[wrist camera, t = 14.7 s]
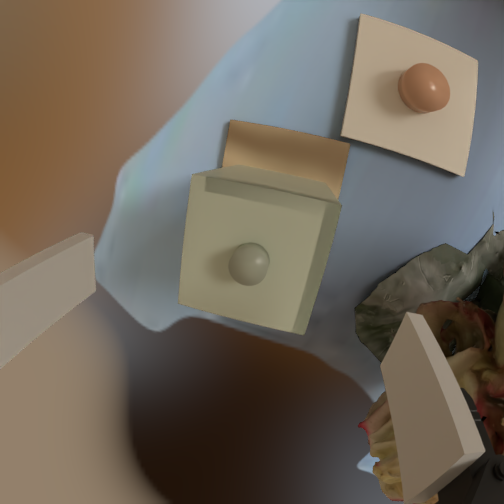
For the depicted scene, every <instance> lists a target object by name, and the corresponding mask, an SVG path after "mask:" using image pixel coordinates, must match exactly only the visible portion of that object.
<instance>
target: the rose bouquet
mask: <svg viewBox="0 0 504 504" xmlns="http://www.w3.org/2000/svg"><path fill="white" fill-rule="evenodd" d="M493 218H494V213H493ZM493 227H494V224H493V225H492V227H491V228H490V229H489V231H488V232H487V234H486V235H485V236H484V238H483V239H482V240H481V241H480V242H479V243H478V244H477V245H476V247H475V248H474V249H473V250H472V251H471V252H470V253H469V254H468V255H467V254H465V253H464V252H462V251H460V250H458V249H456V248H454V247H452V246H450V245H448V244H446V243H445V244H443V245H440V246H439V247H436V248H433V249H432V250H431V251H429V252H423V254H420V256H416V257H415V259H414V258H413V259H412V260H411V262H408V263H407V264H406V266H403V267H402V268H400V269H399V271H398V272H396V274H394V273H393V274H392V275H391V276H390V277H388V278H387V279H385V280H384V281H382V282H380V283H379V284H378V285H377V286H378V287H377V288H376V289H375V290H374V291H372V293H371V295H370V296H369V297H367V299H365V301H363V302H361V304H359V305H358V306H357V307H355V311H356V312H355V319H356V334H357V335H358V337H359V339H360V341H361V342H362V343H363V344H364V345H366V346H367V347H368V349H369V350H370V351H371V352H372V353H373V354H374V355H375V356H376V357H377V358H378V360H379V361H380V362H381V363H382V361H383V359H384V357H385V355H386V353H387V352H388V350H389V348H390V346H391V344H392V342H393V340H394V338H395V335H396V333H397V331H398V329H399V327H400V325H401V323H402V321H403V318H404V316H405V314H406V312H410V313H415V314H420V315H423V317H424V319H425V320H426V322H427V324H428V326H429V328H430V329H431V331H432V333H433V335H434V337H435V339H436V340H437V342H438V344H439V346H440V348H441V350H442V352H443V354H444V356H445V358H446V360H447V362H448V364H449V366H450V368H451V370H452V372H453V374H454V376H455V378H456V380H457V383H458V385H459V387H460V388H464V389H465V390H466V391H467V393H468V394H469V395H470V396H471V397H472V399H473V401H474V403H475V405H476V407H477V412H479V414H480V417H481V421H483V424H484V426H485V429H486V431H487V434H488V436H489V439H490V441H491V444H492V447H493V449H494V452H495V454H496V455H500V454H501V455H504V230H502V231H500V232H495V233H497V234H496V236H494V235H493ZM486 268H487V269H486ZM485 269H486V270H488V272H489V274H487V276H486V278H485V281H484V283H483V284H482V285H481V281H482V277H483V273H484V271H485ZM479 286H480V290H479V293H478V295H477V297H476V298H475V299H474V300H472V301H470V302H469V301H463V300H464V299H465V298H467V297H468V296H469V295H471V293H473V291H474V290H476V289H477V288H478V287H479ZM454 347H455V352H454V353H453V354H452V351H453V349H454ZM358 427H361V428H363V429H365V430H366V433H367V435H368V438H369V440H368V444H369V445H370V448H371V450H370V455H371V456H372V457H379V459H380V461H379V462H375V465H374V466H373V473H374V474H375V475H376V476H377V477H378V479H379V483H380V486H381V490H382V492H384V494H386V496H387V497H388V498H389V499H390V500H392V501H404V499H403V489H402V481H401V473H400V466H399V459H398V453H397V446H396V440H395V435H394V429H393V424H392V418H391V413H390V408H389V403H388V399H387V394H386V391H385V392H384V393H382V394H381V396H380V397H379V398H378V400H377V401H376V402H375V403H373V404H372V406H371V408H370V410H369V412H368V415H367V417H366V419H365V420H364V421H363V422H361V423H359V425H358ZM437 501H439V500H438V494H435V495H434V496H433V497H431V498H430V499H429V500H427V501H426V502H422V503H414V504H435V503H436V502H437Z"/></svg>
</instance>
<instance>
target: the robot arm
mask: <svg viewBox="0 0 504 504" xmlns="http://www.w3.org/2000/svg"><path fill="white" fill-rule="evenodd" d="M95 291H96V282H95V265H94V236H93V235H90V234H87V233H83V232H80V233H78V234H76V235H74V236H71V237H69V238H67V239H65V240H63V241H61V242H59V243H57V244H55V245H53V246H51V247H49V248H47V249H45V250H43V251H41V252H39V253H37V254H35V255H33V256H31V257H29V258H27V259H25V260H23V261H21V262H19V263H17V264H15V265H14V266H12V267H10V268H8V269H6V270H4V271H3V272H1V273H0V369H1V368H2V367H3V366H4V365H6V364H7V363H8V362H9V361H10V360H11V359H13V358H14V357H15V356H16V355H17V354H18V353H19V352H21V351H22V350H23V349H24V348H25V347H26V346H28V345H29V344H30V343H31V342H32V341H34V340H35V339H36V338H37V337H38V336H39V335H41V334H42V333H43V332H44V331H46V330H47V329H48V328H49V327H51V326H52V325H53V324H54V323H55V322H57V321H58V320H59V319H61V318H62V317H63V316H64V315H66V314H67V313H68V312H69V311H71V310H72V309H73V308H74V307H75V306H77V305H78V304H80V302H82V301H83V300H85V299H86V298H87V297H89V296H90V295H91V294H92V293H94V292H95ZM380 368H381V372H382V376H383V380H384V385H385V389H386V394H387V399H388V403H389V408H390V413H391V418H392V424H393V429H394V435H395V440H396V446H397V453H398V459H399V466H400V473H401V481H402V489H403V499H404V504H414V503H422V502H426V501H427V500H429V499H430V498H431V497H433V496H434V495H435V494H438V500H439V501H437V502H436V503H435V504H504V455H501V454H500V455H496V454H495V452H494V449H493V447H492V444H491V441H490V439H489V436H488V434H487V431H486V429H485V426H484V424H483V421H481V417H480V414H479V412H477V407H476V405H475V403H474V401H473V399H472V397H471V396H470V395H469V394H468V393H467V391H466V390H465V389H464V388H460V387H459V385H458V383H457V380H456V378H455V376H454V374H453V372H452V370H451V368H450V366H449V364H448V362H447V360H446V358H445V356H444V354H443V352H442V350H441V348H440V346H439V344H438V342H437V340H436V339H435V337H434V335H433V333H432V331H431V329H430V328H429V326H428V324H427V322H426V320H425V319H424V317H423V315H420V314H415V313H410V312H406V314H405V316H404V318H403V321H402V323H401V325H400V327H399V329H398V331H397V333H396V335H395V338H394V340H393V342H392V344H391V346H390V348H389V350H388V352H387V353H386V355H385V357H384V359H383V361H382V363H381V365H380Z"/></svg>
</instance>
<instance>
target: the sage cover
mask: <svg viewBox="0 0 504 504" xmlns="http://www.w3.org/2000/svg"><path fill="white" fill-rule="evenodd" d="M341 207H342V205H341V204H340V202H339V201H338V199H337V198H336V197H335V195H334V194H333V192H332V191H331V190H330V188H329V187H328V186H327V184H326V183H325V182H320V181H316V180H312V179H308V178H303V177H299V176H294V175H290V174H285V173H280V172H276V171H271V170H266V169H261V168H256V167H250V166H245V165H240V164H238V165H233V166H228V167H223V168H218V169H214V170H209V171H204V172H200V173H195V174H192V178H191V185H190V192H189V199H188V207H187V215H186V224H185V233H184V242H183V251H182V262H181V273H180V284H179V297H178V304H181V305H185V306H188V307H192V308H195V309H199V310H202V311H206V312H210V313H213V314H217V315H221V316H225V317H229V318H233V319H236V320H240V321H244V322H248V323H253V324H257V325H261V326H265V327H269V328H274V329H278V330H282V331H287V332H291V333H296V334H300V335H304V334H305V331H306V328H307V325H308V322H309V319H310V316H311V313H312V310H313V307H314V303H315V300H316V297H317V294H318V290H319V287H320V284H321V281H322V277H323V274H324V270H325V267H326V263H327V260H328V256H329V253H330V249H331V246H332V242H333V238H334V234H335V231H336V227H337V223H338V219H339V215H340V211H341Z"/></svg>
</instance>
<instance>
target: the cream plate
mask: <svg viewBox="0 0 504 504" xmlns="http://www.w3.org/2000/svg"><path fill="white" fill-rule="evenodd" d="M477 77H478V61H477V60H476V59H474V58H472V57H470V56H468V55H466V54H464V53H462V52H460V51H458V50H456V49H454V48H452V47H450V46H448V45H446V44H444V43H442V42H440V41H437V40H435V39H433V38H430V37H428V36H426V35H423V34H421V33H418V32H416V31H413V30H411V29H408V28H405V27H403V26H400V25H397V24H394V23H391V22H388V21H385V20H382V19H379V18H375V17H372V16H368V15H365V14H360V17H359V23H358V31H357V38H356V45H355V52H354V59H353V66H352V72H351V78H350V84H349V90H348V96H347V101H346V107H345V112H344V118H343V123H342V128H341V133H340V136H341V137H345V138H349V139H352V140H356V141H360V142H363V143H367V144H370V145H374V146H377V147H380V148H383V149H387V150H390V151H393V152H396V153H399V154H402V155H405V156H408V157H411V158H414V159H417V160H419V161H422V162H425V163H428V164H430V165H433V166H436V167H438V168H441V169H443V170H446V171H448V172H451V173H453V174H456V175H458V176H462V177H464V175H465V170H466V165H467V160H468V155H469V149H470V143H471V137H472V130H473V122H474V114H475V105H476V93H477Z"/></svg>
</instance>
